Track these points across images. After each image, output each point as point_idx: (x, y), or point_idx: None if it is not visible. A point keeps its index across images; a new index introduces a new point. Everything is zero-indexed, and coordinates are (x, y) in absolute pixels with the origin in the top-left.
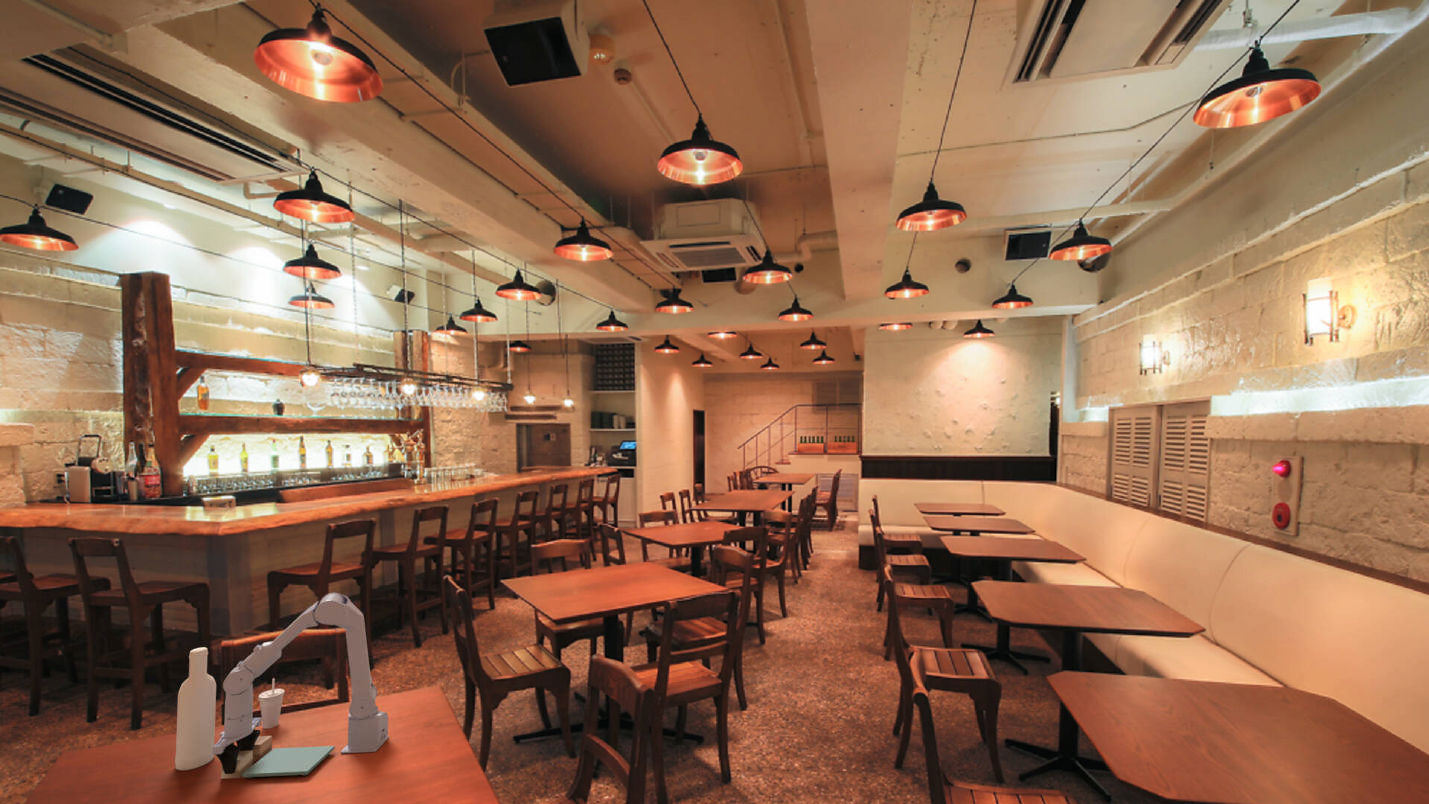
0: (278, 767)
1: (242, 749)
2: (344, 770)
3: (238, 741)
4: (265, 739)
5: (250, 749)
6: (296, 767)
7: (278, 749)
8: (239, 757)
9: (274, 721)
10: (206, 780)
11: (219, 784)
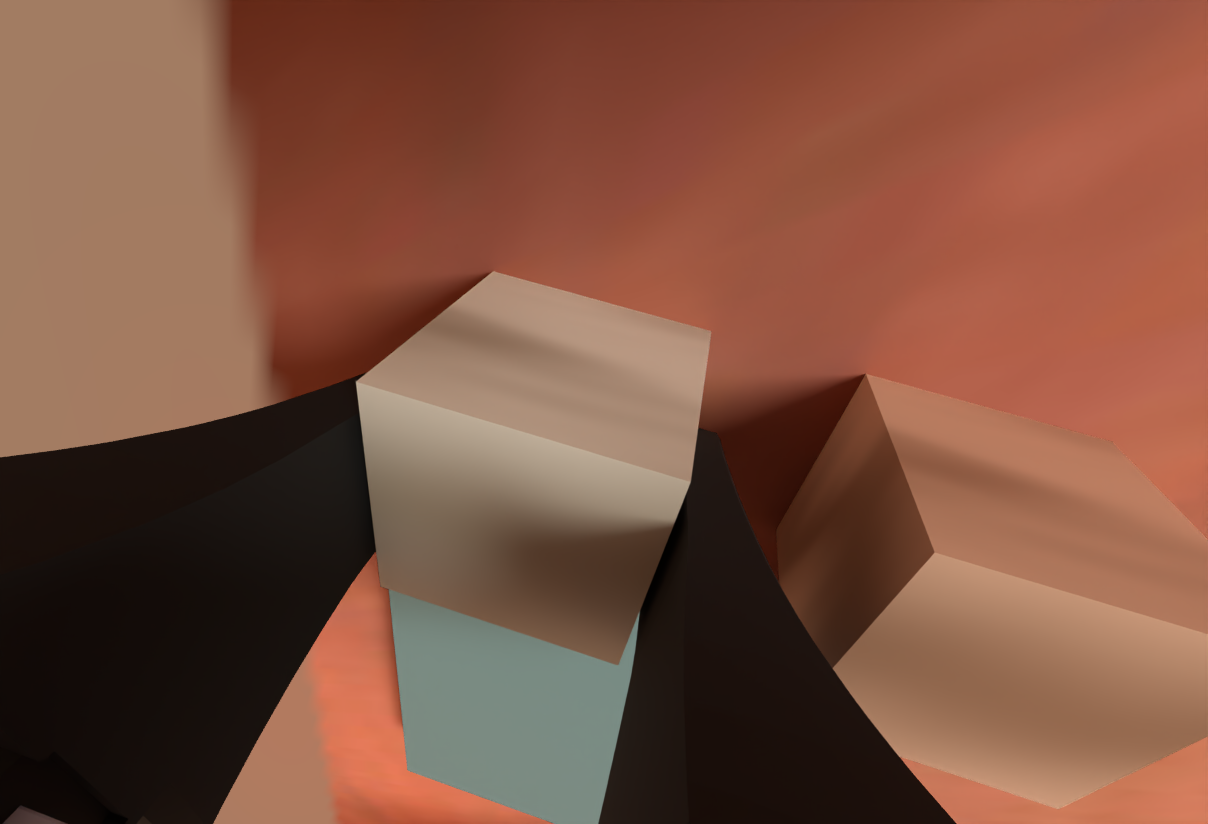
0: (463, 692)
1: (668, 589)
2: (482, 804)
3: (666, 709)
4: (957, 760)
5: (634, 659)
6: (452, 747)
7: None
8: (447, 571)
9: None
10: (476, 78)
11: (380, 303)
